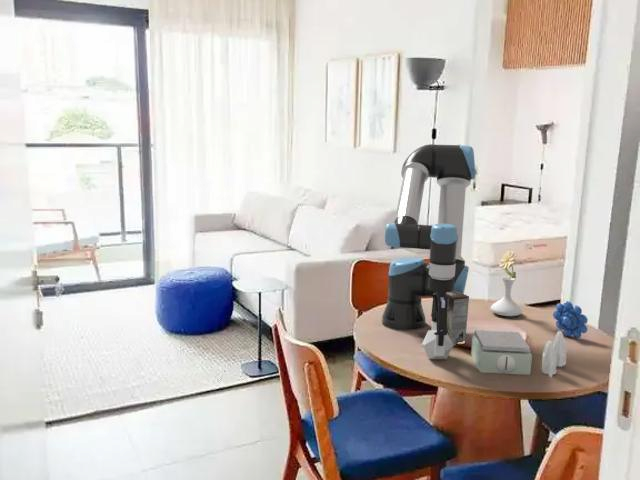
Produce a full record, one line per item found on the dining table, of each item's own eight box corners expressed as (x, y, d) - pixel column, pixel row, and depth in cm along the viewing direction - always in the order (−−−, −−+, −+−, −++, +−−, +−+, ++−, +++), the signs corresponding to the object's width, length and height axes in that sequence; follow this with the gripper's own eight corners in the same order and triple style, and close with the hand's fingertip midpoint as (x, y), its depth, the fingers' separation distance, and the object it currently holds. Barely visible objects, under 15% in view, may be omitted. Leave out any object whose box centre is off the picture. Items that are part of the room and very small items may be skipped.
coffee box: (433, 337, 196) (436, 289, 193) (449, 334, 198) (452, 288, 195) (449, 346, 188) (452, 297, 185) (466, 344, 190) (469, 295, 187)
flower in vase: (488, 308, 228) (493, 245, 223) (518, 310, 226) (524, 246, 222) (493, 319, 215) (498, 252, 210) (525, 321, 214) (531, 253, 209)
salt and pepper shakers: (554, 361, 177) (558, 326, 175) (568, 365, 175) (572, 329, 172) (537, 372, 169) (541, 336, 167) (552, 377, 166) (555, 339, 164)
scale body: (471, 353, 182) (472, 333, 181) (517, 355, 181) (519, 335, 180) (480, 373, 168) (481, 351, 166) (530, 375, 167) (532, 353, 165)
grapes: (545, 335, 200) (549, 300, 198) (554, 330, 205) (557, 297, 202) (580, 344, 192) (584, 308, 190) (588, 339, 197) (592, 304, 194)
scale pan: (474, 334, 180) (474, 330, 180) (518, 335, 179) (518, 332, 179) (482, 349, 168) (483, 345, 167) (529, 352, 167) (530, 348, 166)
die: (445, 367, 173) (462, 338, 174) (418, 351, 173) (436, 322, 175) (438, 366, 181) (455, 338, 183) (413, 350, 182) (430, 322, 183)
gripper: (424, 267, 185) (421, 335, 190) (432, 286, 163) (428, 362, 168) (449, 268, 185) (444, 336, 189) (460, 287, 163) (455, 363, 167)
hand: (437, 348), depth 178 cm, fingers closed on die, 10 cm apart
